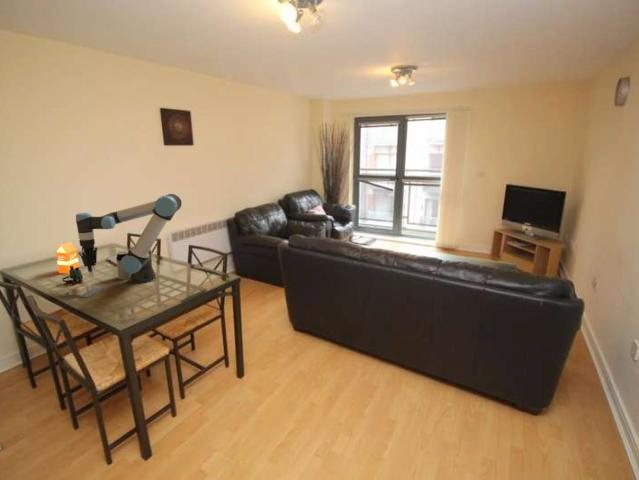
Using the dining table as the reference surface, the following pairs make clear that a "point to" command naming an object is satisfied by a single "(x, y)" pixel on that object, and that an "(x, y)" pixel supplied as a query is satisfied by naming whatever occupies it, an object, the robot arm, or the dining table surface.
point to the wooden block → (79, 289)
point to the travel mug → (121, 272)
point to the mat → (86, 295)
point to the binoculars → (74, 276)
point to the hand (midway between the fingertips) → (92, 275)
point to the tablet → (112, 259)
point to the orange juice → (66, 257)
